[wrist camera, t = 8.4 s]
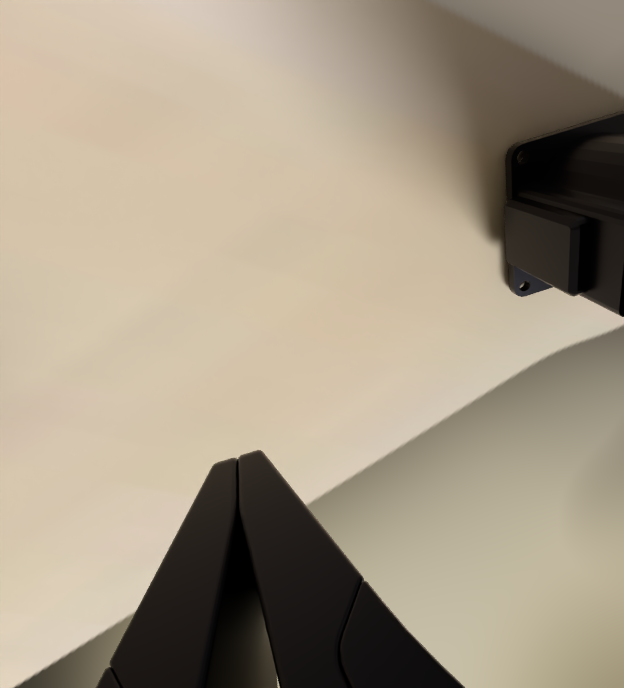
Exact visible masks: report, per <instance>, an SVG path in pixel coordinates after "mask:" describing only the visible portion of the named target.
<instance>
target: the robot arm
mask: <svg viewBox="0 0 624 688" xmlns="http://www.w3.org/2000/svg"><path fill="white" fill-rule="evenodd" d="M521 151H522V152H523V158H522V160H521V161H520V162H518V161H517V157H518V154H519V153H520V152H521ZM505 165H506V196H507V202H506V204H505V206H504V215H505V243H506V261H507V262H508V263H509V287H510V290H511V291H512V292H513V293H514V294H516V295H518V296H521V297H523V296H527V295H530V294H533V293H536V292H540V291H543V290H546V289H549V288H552V287H555V288H557V289H559V290H561V291H563V292H564V293H566V294H568V295H570V296H577V295H580V296H582V297H584V298H586V299H588V300H590V301H592V302H594V303H596V304H598V305H600V306H602V307H604V308H606V309H608V310H610V311H612V312H614V313H616V314H618V315H620V316H622V317H624V111H621V112H618V113H615V114H611V115H608V116H605V117H601V118H598V119H595V120H591V121H588V122H585V123H581V124H578V125H575V126H571V127H568V128H565V129H561V130H558V131H555V132H551V133H548V134H545V135H542V136H538V137H535V138H532V139H528V140H525V141H522V142H518V143H516V144H514V145H512V146H511V147H510V148H509V149H508V152H507V154H506V159H505ZM524 281H525V283H524V285H523V287H521V288H520V285H521V283H522V282H524ZM110 666H111V667H108V668H106V669H105V671H104V673H103V675H102V677H101V679H100V680H99V682H98V684H97V686H96V688H278V687H277V677H278V681H279V686H280V688H465V687H464V686H463V685H462V684H461V683H460V682H459V681H458V680H457V679H456V678H455V677H453V675H451V674H450V673H449V672H448V671H447V670H446V669H445V668H444V667H443V666H442V665H441V664H440V663H439V662H438V661H437V660H436V659H435V658H434V657H433V656H432V655H431V654H430V653H429V652H428V651H427V650H426V649H425V647H423V645H422V644H421V643H419V641H418V640H417V639H416V638H415V637H414V636H413V635H412V634H411V633H410V632H409V631H408V630H407V629H406V628H405V627H404V625H403V624H402V623H401V622H400V621H399V619H398V618H397V617H396V616H395V615H394V614H393V613H392V611H391V610H390V609H389V608H388V607H387V606H386V604H385V603H384V602H383V601H382V600H381V598H380V597H379V596H378V595H377V593H376V592H375V591H374V590H373V589H372V587H371V586H370V585H369V584H368V582H366V581H364V578H363V576H362V575H361V574H360V573H359V571H358V570H357V569H356V568H355V567H354V565H353V564H352V563H351V562H350V560H349V559H348V558H347V556H346V555H345V554H344V553H343V551H342V550H341V549H340V548H339V546H338V545H337V544H336V543H335V542H334V540H333V539H332V538H331V537H330V535H329V534H328V533H327V531H326V530H325V529H324V528H323V526H322V525H321V524H320V523H319V521H318V520H317V519H316V518H315V516H314V515H313V514H312V513H311V511H310V510H309V509H308V508H307V506H306V505H305V504H304V503H303V501H302V500H301V499H300V498H299V496H298V495H297V494H296V493H295V491H294V490H293V489H292V488H291V486H290V485H289V484H288V483H287V481H286V480H285V479H284V478H283V476H282V475H281V474H280V473H279V471H278V470H277V469H276V468H275V466H274V465H273V464H272V463H271V461H270V460H269V459H268V458H267V456H266V455H265V454H264V453H263V452H262V451H261V450H257V451H253V452H250V453H247V454H244V455H241V456H240V457H239V459H237V458H231V459H228V460H224V461H221V462H218V463H216V464H214V465H213V466H212V468H211V470H210V472H209V474H208V476H207V477H206V479H205V481H204V483H203V485H202V487H201V489H200V491H199V493H198V495H197V496H196V498H195V500H194V502H193V504H192V506H191V508H190V510H189V512H188V514H187V515H186V517H185V519H184V521H183V523H182V525H181V527H180V529H179V531H178V533H177V534H176V536H175V538H174V540H173V542H172V544H171V546H170V548H169V550H168V552H167V553H166V555H165V557H164V559H163V561H162V563H161V565H160V567H159V569H158V571H157V573H156V574H155V576H154V578H153V580H152V582H151V584H150V586H149V588H148V590H147V592H146V593H145V595H144V597H143V599H142V601H141V603H140V605H139V607H138V609H137V611H136V612H135V614H134V616H133V618H132V620H131V622H130V624H129V626H128V628H127V630H126V631H125V633H124V635H123V637H122V639H121V641H120V643H119V645H118V647H117V649H116V651H115V652H114V654H113V656H112V658H111V660H110Z"/></svg>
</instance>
